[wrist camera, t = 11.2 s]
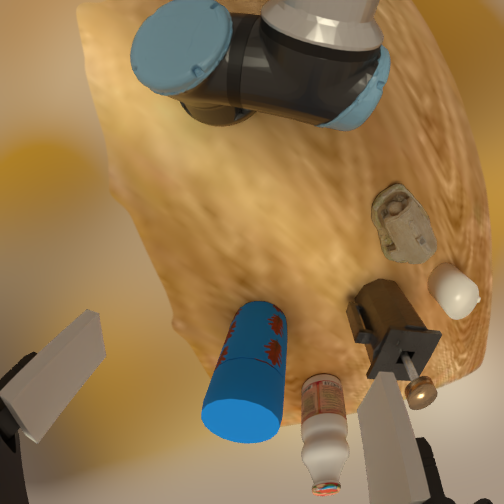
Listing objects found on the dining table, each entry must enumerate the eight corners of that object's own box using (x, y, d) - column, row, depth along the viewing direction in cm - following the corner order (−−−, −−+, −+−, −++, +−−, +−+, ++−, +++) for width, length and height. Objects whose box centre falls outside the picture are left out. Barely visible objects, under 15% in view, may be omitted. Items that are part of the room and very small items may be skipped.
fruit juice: (339, 369, 57) (353, 478, 31) (343, 395, 60) (353, 495, 34) (298, 376, 59) (294, 486, 33) (305, 402, 62) (302, 502, 36)
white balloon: (434, 259, 47) (456, 278, 38) (469, 268, 46) (491, 286, 38) (422, 294, 49) (440, 317, 41) (456, 300, 49) (476, 321, 40)
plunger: (377, 302, 43) (412, 376, 26) (416, 308, 42) (460, 376, 25) (362, 340, 45) (384, 419, 29) (400, 344, 45) (431, 417, 28)
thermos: (298, 322, 55) (298, 424, 31) (263, 353, 58) (246, 451, 35) (256, 289, 53) (230, 385, 30) (223, 323, 57) (185, 418, 34)
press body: (351, 273, 50) (374, 324, 34) (409, 284, 49) (446, 332, 33) (337, 319, 53) (350, 379, 37) (392, 327, 52) (418, 382, 36)
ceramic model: (438, 236, 45) (464, 254, 36) (394, 271, 49) (412, 295, 39) (402, 174, 43) (427, 179, 34) (354, 211, 46) (369, 225, 37)
